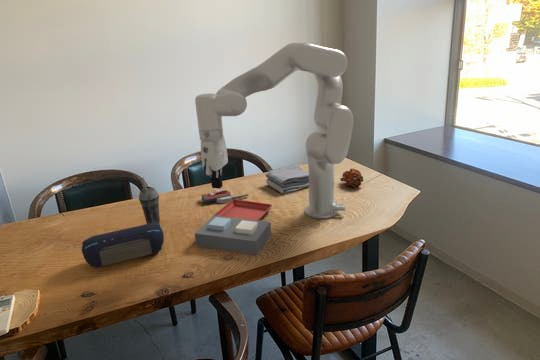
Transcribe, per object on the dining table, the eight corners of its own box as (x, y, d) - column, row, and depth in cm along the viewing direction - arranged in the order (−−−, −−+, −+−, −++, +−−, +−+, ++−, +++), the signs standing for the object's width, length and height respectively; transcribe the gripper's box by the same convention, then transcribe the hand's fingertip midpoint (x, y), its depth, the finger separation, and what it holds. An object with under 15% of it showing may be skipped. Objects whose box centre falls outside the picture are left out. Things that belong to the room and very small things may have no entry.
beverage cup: (167, 222, 153) (159, 173, 146) (155, 231, 147) (146, 180, 140) (152, 219, 156) (144, 171, 149) (139, 228, 150) (130, 178, 143)
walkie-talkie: (204, 208, 165) (249, 198, 172) (203, 198, 163) (248, 189, 170) (199, 201, 173) (242, 192, 180) (197, 191, 171) (241, 182, 178)
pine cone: (359, 193, 174) (343, 189, 184) (371, 179, 175) (354, 175, 186) (349, 180, 170) (333, 176, 181) (361, 166, 172) (345, 163, 182)
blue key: (232, 231, 140) (230, 218, 139) (225, 239, 135) (223, 226, 134) (217, 229, 142) (215, 217, 141) (209, 237, 137) (208, 224, 135)
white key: (258, 235, 137) (257, 222, 135) (252, 243, 132) (251, 229, 130) (243, 233, 139) (242, 220, 137) (236, 241, 134) (235, 227, 132)
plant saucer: (253, 232, 143) (252, 224, 142) (210, 225, 150) (209, 217, 149) (273, 211, 159) (273, 204, 157) (233, 206, 166) (233, 198, 165)
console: (271, 234, 140) (270, 221, 139) (256, 255, 128) (255, 241, 126) (215, 227, 148) (213, 215, 146) (196, 246, 135) (194, 233, 133)
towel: (264, 186, 185) (263, 170, 182) (297, 177, 194) (297, 161, 191) (282, 196, 173) (282, 179, 170) (316, 186, 181) (316, 169, 178)
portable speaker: (86, 276, 122) (79, 248, 118) (85, 260, 130) (79, 233, 127) (168, 255, 131) (164, 228, 127) (163, 242, 140) (159, 216, 136)
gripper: (211, 140, 119) (217, 197, 125) (231, 128, 132) (236, 180, 138) (188, 139, 121) (196, 195, 128) (211, 127, 134) (217, 178, 141)
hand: (217, 187), depth 133 cm, fingers closed
